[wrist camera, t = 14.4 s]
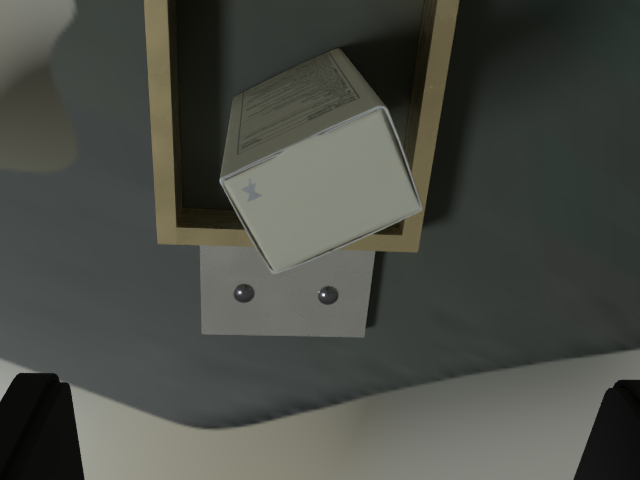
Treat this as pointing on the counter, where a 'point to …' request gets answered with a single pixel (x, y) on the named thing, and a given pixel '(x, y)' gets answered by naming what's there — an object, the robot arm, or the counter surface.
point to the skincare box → (314, 163)
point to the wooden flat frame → (230, 235)
